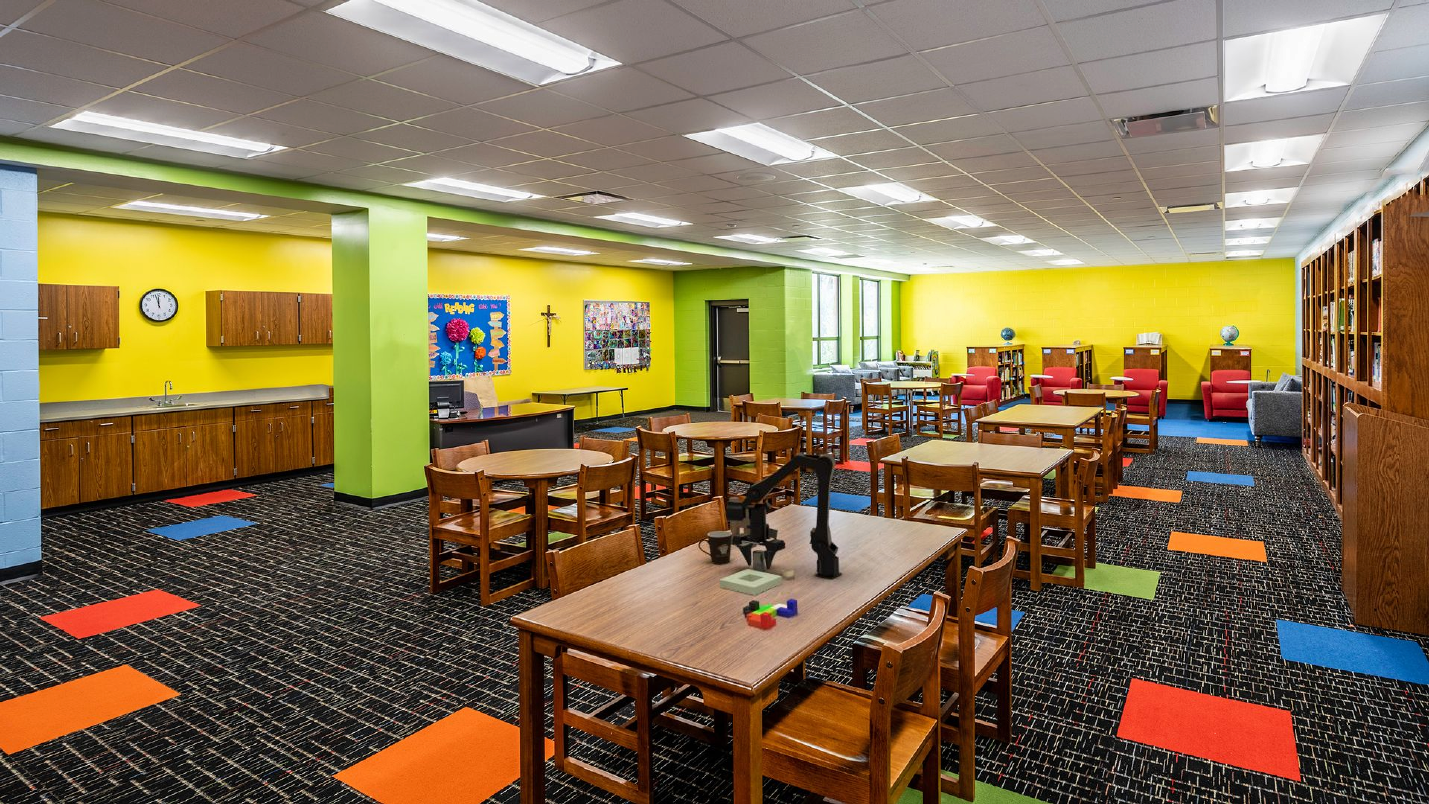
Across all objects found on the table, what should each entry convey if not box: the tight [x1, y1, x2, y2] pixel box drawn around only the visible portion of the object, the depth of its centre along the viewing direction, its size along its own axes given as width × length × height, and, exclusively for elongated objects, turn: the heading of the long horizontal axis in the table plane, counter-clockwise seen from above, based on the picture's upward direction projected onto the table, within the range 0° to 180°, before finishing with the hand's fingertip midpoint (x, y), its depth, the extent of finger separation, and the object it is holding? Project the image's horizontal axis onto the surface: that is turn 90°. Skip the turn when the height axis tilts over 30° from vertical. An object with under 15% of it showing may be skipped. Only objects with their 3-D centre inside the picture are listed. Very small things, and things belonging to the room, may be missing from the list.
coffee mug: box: [697, 530, 732, 565], centre depth 275 cm, size 12×9×10 cm
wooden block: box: [728, 496, 757, 548], centre depth 297 cm, size 4×11×18 cm, turn 51°
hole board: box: [719, 568, 783, 596], centre depth 247 cm, size 14×14×2 cm
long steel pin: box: [752, 549, 766, 573], centre depth 261 cm, size 4×4×7 cm
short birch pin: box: [781, 568, 795, 581], centre depth 254 cm, size 4×4×2 cm
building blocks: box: [742, 598, 799, 631], centre depth 219 cm, size 15×13×4 cm
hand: (759, 567), depth 262 cm, fingers open, 8 cm apart
